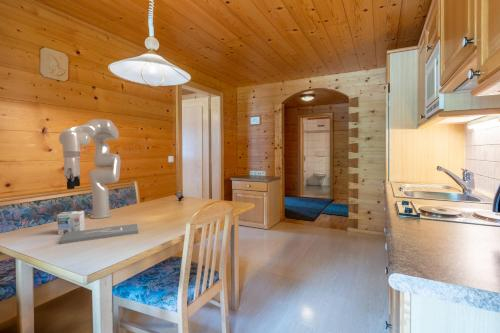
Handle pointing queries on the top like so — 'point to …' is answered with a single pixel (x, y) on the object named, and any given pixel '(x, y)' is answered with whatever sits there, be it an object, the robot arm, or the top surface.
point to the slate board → (99, 233)
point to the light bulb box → (70, 222)
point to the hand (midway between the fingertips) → (73, 187)
